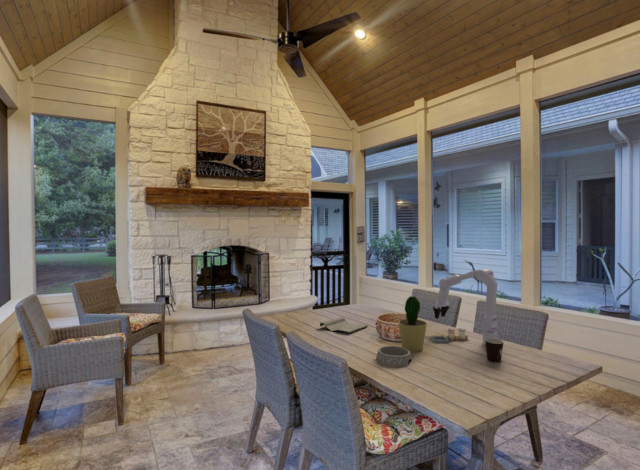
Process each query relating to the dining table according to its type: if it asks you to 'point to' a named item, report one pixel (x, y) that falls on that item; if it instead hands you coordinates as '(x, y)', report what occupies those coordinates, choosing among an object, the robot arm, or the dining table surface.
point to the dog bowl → (393, 356)
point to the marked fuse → (451, 334)
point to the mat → (342, 325)
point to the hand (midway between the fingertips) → (439, 317)
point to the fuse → (461, 334)
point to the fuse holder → (458, 338)
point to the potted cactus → (412, 326)
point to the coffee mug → (494, 350)
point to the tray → (439, 340)
